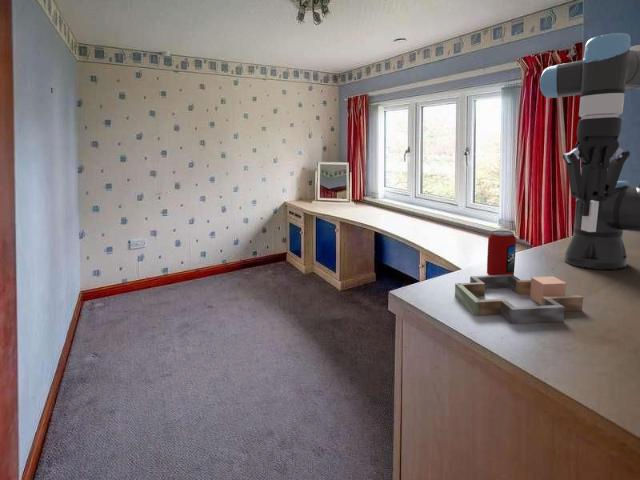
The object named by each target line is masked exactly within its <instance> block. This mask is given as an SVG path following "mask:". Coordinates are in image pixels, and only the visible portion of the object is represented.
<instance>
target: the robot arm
mask: <svg viewBox="0 0 640 480" xmlns="http://www.w3.org/2000/svg"><path fill="white" fill-rule="evenodd" d="M582 57H583V58H582V59H581V60H576V61H571V62H570V61H569V62H566V63H559V64H555V65H552V66H548V67H546V68H544V70H543V71H542V73H541V75H540V78H539V88H540V91H541V94H542V95H543V96H544V97H545V98H547V99H553V98H555V99H559V98H565V97H571V96H579V95H580V98H579V109H578V110H579V111H578V117H580V118H581V119H579V120H578V121H577V128H576V137H577V141H576V143H575V145H574V148H573V149H572V150H570V151H569V152H565V153H563V154H562V159H563V160H564V162H565V165H566V168H567V174H568V176H567V177H568V183H569V188H570V189H569V190H570V195H571V197H572V198H575V211H574V212H575V213H574V223H573V234H572V237H571V239H570V241H569V244H568V245H567V248H566V250H565V252H564V259H563V260H565V261H566V262H565V261H564V262H565V263H567V264H569V265H573V266H575V267H579V266H580V267H581V268H584V267H586V268H585V269H591V268H593V269H592V270H603V269H613V270H619V269H618V268H622V267H625V266H626V265H627V266H628V255H627V251H626V247H625V245H624V240H623V235H624V234H623V233H624V231H627V232H635V233H640V180H639V181H638V185H637V186H630V183H629V181H628V180H619V178H620V176H621V172H622V170H623V167H624V164H625V162H626V161H627V160H628V158H629V156H630V155H631V153H630V151H629V150H623V149H622V148H621V147H620V143H619V140H618V138H619V136H620V135H621V131H622V130H621V129H622V128H621V127H622V121H623V120H622V118H621V117H619V116H620V115H622V114H623V113H624V104H625V103H624V102H625V94H626V93H625V92H626V90H627V91H632V90H633V91H635V90H636V91H637V90H640V44H637V45H633V46H632V45H631V36H630V34H629V33H624V32H613V33H606V34H602V35H597V36H594V37H592V38H590V39H588V40H587V42H586V43H585V46H584V53H583V56H582ZM579 159H580V160H581V161H579ZM627 266H626V267H627ZM626 267H625V268H626ZM622 269H623V268H622Z"/></svg>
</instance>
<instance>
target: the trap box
mask: <svg viewBox="0 0 640 480" xmlns="http://www.w3.org/2000/svg"><path fill="white" fill-rule="evenodd" d="M469 278H470V279H469V282H459V283H455V285H454V296H455V297H456V298H457V299H458V300H459V302H460V303H462V304H463V305H464V307H466V309H468V311H469V312H470V313H472V314H473V315H474V316H475V317H480V316H498V315H501V316H502V317H503V318H504V319H506V321H508V323H510V324H511V325H514V324H515V325H517V324H534V323H535V324H536V323H537V324H538V323H554V322H557V323H558V322H564V320H565V319H564V317H565V312H580V311H581V312H582V311H583V302H584V296H582V295H580V294H575V295H573V294H572V295H571V294H570V295H565V296H550V297H542V305H534V306H529V305H528V306H515V305H514V304H512V303H511V302H509V301H508V300H507V299H506V298H494V299H493V298H492V299H479V298H477V297H485V293H486V289H488V290H489V289H508V288H509V289H510V290H511V291H513V292H515V293H516V294H517V295H527V294H528V295H530V289H531V279H520V278H519V277H517V276H515V274H514V275H512V274H509V275H488V274H487V275H471V276H470V277H469Z"/></svg>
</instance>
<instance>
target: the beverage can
mask: <svg viewBox="0 0 640 480" xmlns="http://www.w3.org/2000/svg"><path fill="white" fill-rule="evenodd" d="M487 240H488V241H487V257H486V258H487V261H486V274H487V276H488V275H509V274H512V275H514V276H515V267H516V266H515V265H516V264H515V263H516V252H517V251H516V249H517V238H516V236H515V234H514V231H510V230H502V229H500V230H492V231H491V233H490V235H489V236H488V239H487Z"/></svg>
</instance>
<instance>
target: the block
mask: <svg viewBox="0 0 640 480" xmlns="http://www.w3.org/2000/svg"><path fill="white" fill-rule="evenodd" d="M530 280H531V289H530V294H529V299H530V300H533V301H534V302H535V303H537V304H538V305H539V306H541V305H542V297H550V296H566V288H567V282H565V281H563V280H561V279H559V278H557V277H555V276H553V275H551V276H549V275H548V276H531V278H530Z"/></svg>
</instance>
